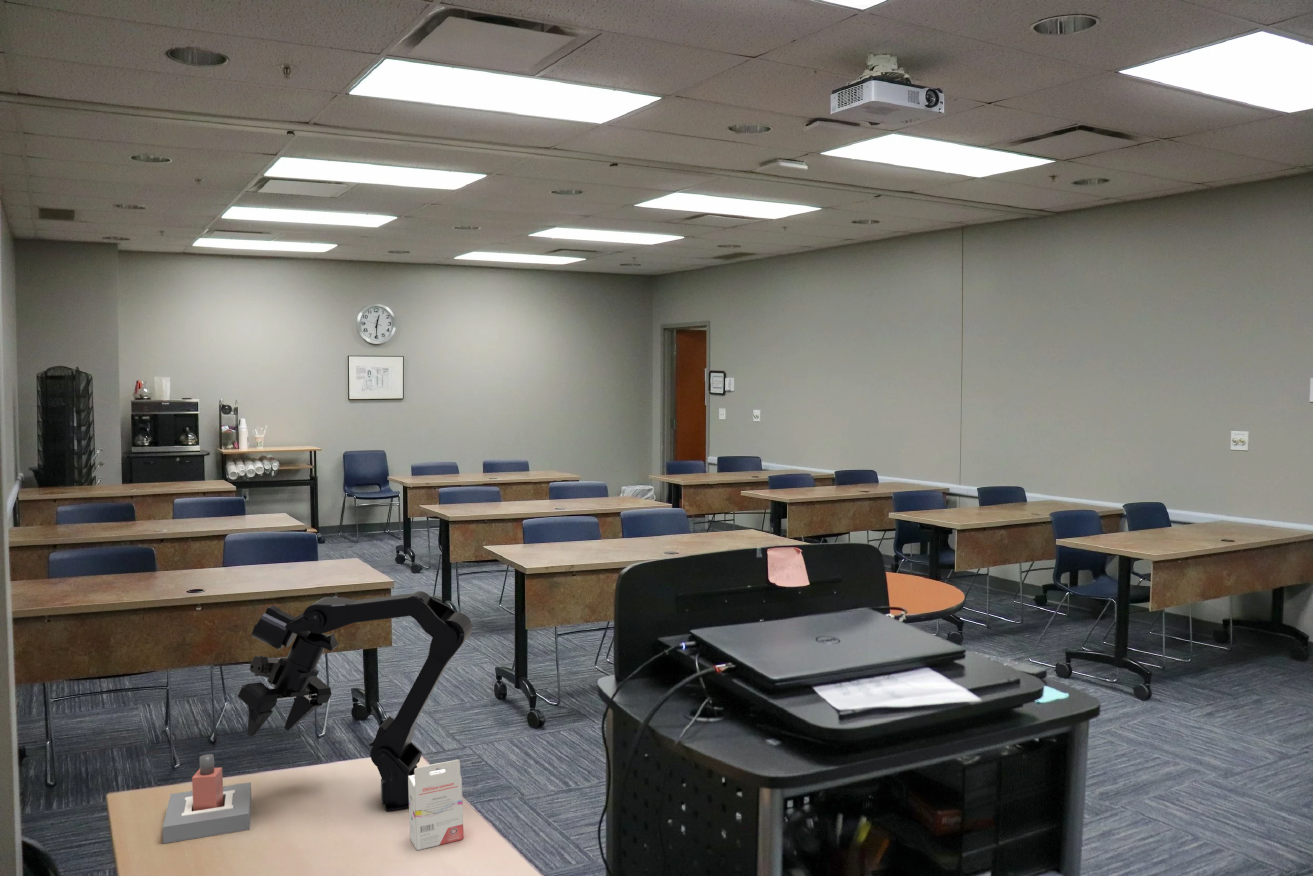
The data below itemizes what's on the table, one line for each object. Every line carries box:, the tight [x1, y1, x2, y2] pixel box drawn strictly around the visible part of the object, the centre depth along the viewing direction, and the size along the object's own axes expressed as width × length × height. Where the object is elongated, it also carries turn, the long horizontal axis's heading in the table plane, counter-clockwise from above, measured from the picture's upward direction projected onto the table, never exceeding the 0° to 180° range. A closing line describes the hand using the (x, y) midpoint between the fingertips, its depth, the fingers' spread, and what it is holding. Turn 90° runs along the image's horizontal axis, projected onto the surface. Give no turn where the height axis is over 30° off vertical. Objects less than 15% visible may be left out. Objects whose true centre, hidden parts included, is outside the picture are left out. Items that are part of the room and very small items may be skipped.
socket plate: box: [162, 782, 252, 845], centre depth 179 cm, size 14×14×3 cm
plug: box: [191, 753, 224, 811], centre depth 179 cm, size 4×4×12 cm
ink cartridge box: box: [408, 759, 464, 851], centre depth 171 cm, size 9×5×15 cm, turn 118°
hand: (268, 732), depth 186 cm, fingers open, 9 cm apart
